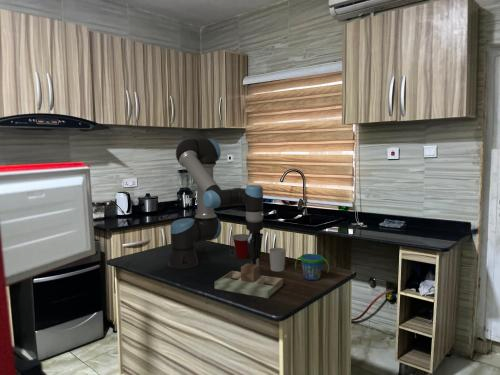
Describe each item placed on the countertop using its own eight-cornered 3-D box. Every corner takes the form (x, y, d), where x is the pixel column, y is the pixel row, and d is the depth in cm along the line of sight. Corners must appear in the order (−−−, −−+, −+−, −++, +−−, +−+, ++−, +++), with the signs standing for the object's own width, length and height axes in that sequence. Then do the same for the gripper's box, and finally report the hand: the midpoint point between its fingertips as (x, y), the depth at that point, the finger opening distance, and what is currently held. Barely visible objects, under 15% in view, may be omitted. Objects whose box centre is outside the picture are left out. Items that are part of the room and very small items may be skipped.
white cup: (284, 272, 183) (284, 252, 182) (268, 271, 184) (268, 251, 183) (286, 267, 191) (286, 248, 190) (270, 266, 192) (270, 247, 191)
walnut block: (241, 280, 164) (240, 267, 163) (247, 276, 169) (246, 263, 168) (253, 282, 161) (253, 268, 160) (259, 278, 166) (259, 264, 166)
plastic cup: (237, 261, 201) (237, 239, 200) (229, 256, 211) (229, 235, 209) (255, 258, 206) (255, 237, 205) (246, 253, 216) (246, 233, 214)
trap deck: (214, 288, 163) (214, 281, 162) (232, 277, 177) (232, 270, 177) (268, 298, 152) (268, 291, 152) (282, 285, 166) (282, 278, 166)
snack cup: (330, 276, 177) (331, 255, 176) (326, 284, 167) (327, 261, 166) (298, 272, 183) (298, 252, 181) (292, 279, 173) (292, 258, 172)
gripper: (256, 223, 159) (256, 278, 162) (268, 218, 171) (268, 269, 174) (240, 222, 163) (241, 275, 165) (253, 217, 174) (253, 267, 177)
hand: (255, 272), depth 169 cm, fingers closed
